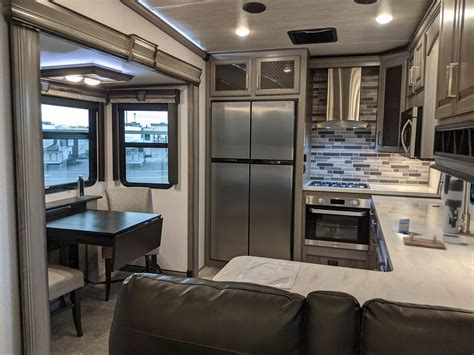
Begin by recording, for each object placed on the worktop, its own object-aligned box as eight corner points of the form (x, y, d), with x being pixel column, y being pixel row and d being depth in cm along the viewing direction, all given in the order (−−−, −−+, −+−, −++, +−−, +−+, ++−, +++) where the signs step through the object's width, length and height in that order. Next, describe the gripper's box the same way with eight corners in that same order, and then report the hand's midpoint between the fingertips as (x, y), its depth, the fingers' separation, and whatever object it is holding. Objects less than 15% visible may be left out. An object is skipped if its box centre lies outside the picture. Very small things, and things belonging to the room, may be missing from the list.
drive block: (441, 240, 223) (442, 233, 223) (459, 242, 219) (460, 235, 219) (442, 242, 219) (443, 235, 218) (460, 244, 215) (460, 237, 214)
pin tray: (402, 238, 224) (403, 230, 224) (440, 242, 217) (441, 234, 217) (404, 244, 211) (405, 235, 211) (444, 249, 204) (445, 240, 204)
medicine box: (398, 233, 237) (399, 219, 236) (393, 231, 241) (394, 218, 240) (408, 232, 239) (410, 219, 238) (404, 230, 243) (405, 217, 242)
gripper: (445, 196, 224) (442, 222, 226) (449, 199, 211) (446, 227, 212) (459, 197, 221) (457, 224, 223) (464, 200, 208) (461, 229, 210)
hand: (452, 226), depth 218 cm, fingers open, 8 cm apart
